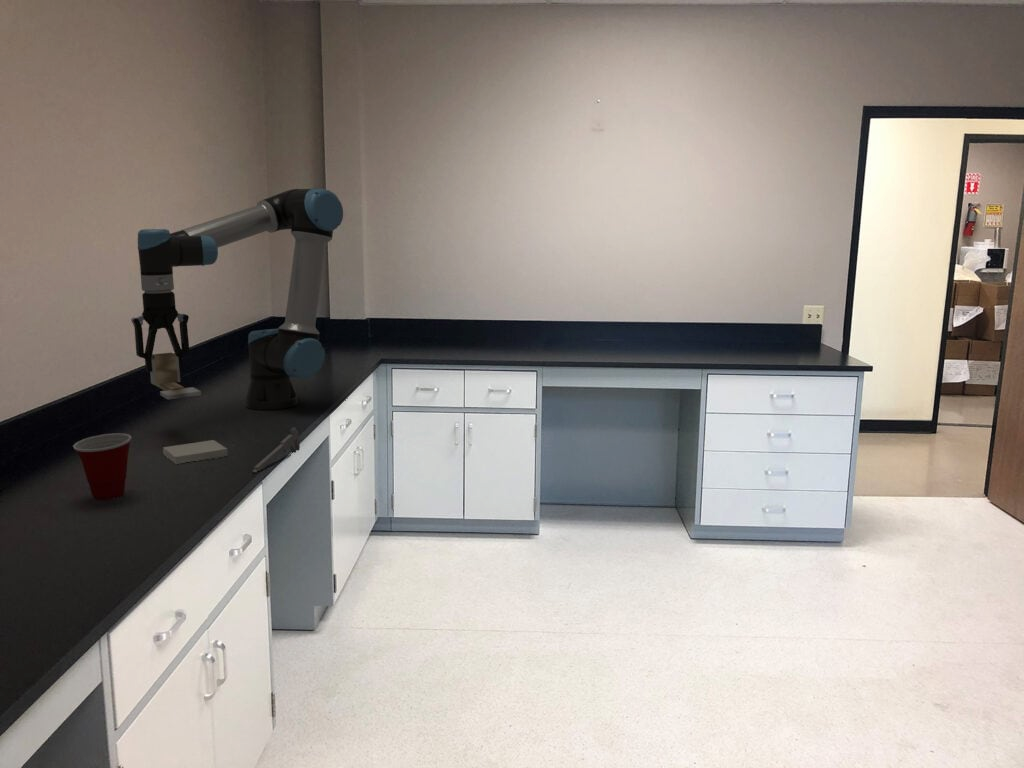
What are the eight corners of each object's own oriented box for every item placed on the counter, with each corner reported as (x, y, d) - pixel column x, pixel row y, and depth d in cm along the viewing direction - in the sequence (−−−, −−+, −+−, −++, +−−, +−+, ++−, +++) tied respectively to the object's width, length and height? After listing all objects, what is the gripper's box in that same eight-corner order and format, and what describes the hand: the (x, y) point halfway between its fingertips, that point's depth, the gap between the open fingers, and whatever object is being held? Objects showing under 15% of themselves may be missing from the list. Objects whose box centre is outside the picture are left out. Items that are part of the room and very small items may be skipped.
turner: (172, 380, 229) (170, 348, 227) (201, 395, 211) (198, 361, 209) (141, 384, 224) (138, 352, 222) (167, 399, 206) (164, 364, 204)
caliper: (295, 450, 211) (294, 426, 210) (299, 451, 211) (298, 426, 209) (251, 474, 192) (249, 447, 190) (255, 475, 191) (254, 447, 190)
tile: (213, 439, 212) (227, 448, 204) (213, 449, 213) (227, 458, 205) (162, 447, 205) (175, 456, 197) (163, 457, 206) (176, 467, 198)
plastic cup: (70, 495, 176) (64, 439, 173) (124, 484, 183) (119, 430, 181) (88, 508, 168) (83, 449, 166) (144, 496, 175) (140, 439, 173)
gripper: (124, 294, 207) (132, 389, 211) (199, 290, 217) (206, 380, 222) (116, 292, 212) (124, 384, 217) (190, 288, 223) (196, 376, 228)
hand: (165, 382), depth 220 cm, fingers closed on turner, 5 cm apart
